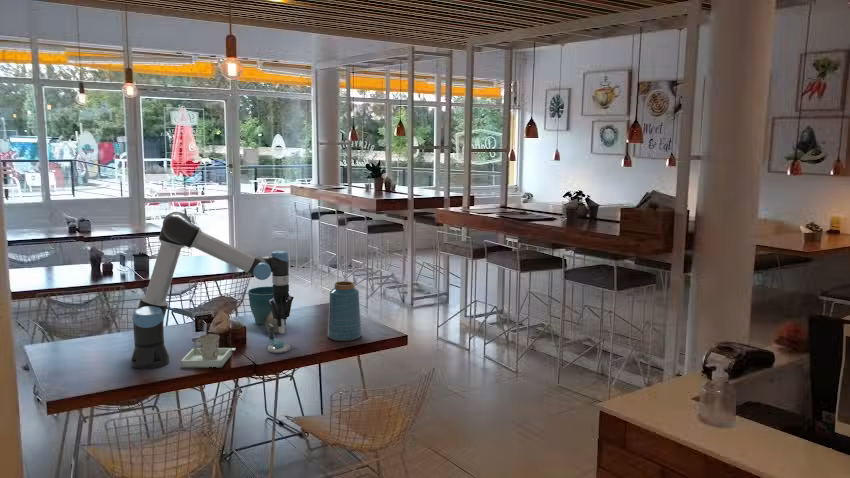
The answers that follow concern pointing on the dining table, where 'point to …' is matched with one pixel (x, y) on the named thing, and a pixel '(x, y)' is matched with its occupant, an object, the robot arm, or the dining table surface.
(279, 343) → the crank
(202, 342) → the mug
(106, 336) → the dining table surface
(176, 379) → the dining table surface
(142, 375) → the dining table surface
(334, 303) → the vase
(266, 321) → the fruit
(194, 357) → the tray
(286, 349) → the pedestal
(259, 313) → the flower pot
